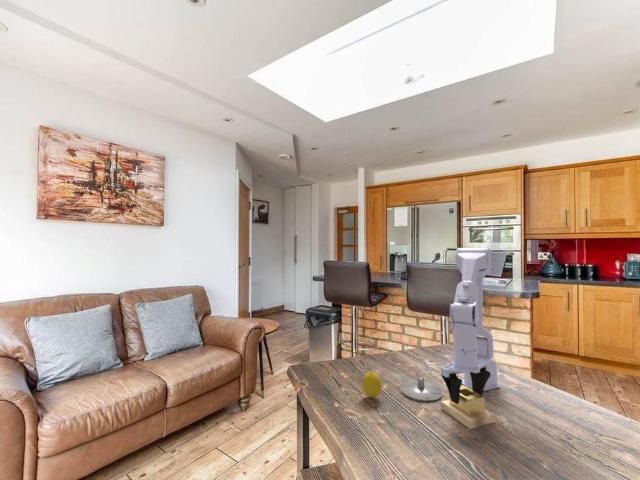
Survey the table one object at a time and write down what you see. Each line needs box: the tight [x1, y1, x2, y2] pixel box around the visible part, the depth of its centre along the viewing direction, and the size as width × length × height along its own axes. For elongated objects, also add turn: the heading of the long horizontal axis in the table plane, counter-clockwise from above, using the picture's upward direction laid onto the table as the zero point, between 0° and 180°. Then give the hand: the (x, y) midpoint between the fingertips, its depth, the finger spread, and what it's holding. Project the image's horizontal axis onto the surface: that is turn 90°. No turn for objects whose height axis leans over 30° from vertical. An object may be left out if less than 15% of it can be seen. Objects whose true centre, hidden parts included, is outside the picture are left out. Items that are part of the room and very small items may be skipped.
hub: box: [400, 376, 443, 403], centre depth 94 cm, size 12×12×4 cm
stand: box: [440, 399, 495, 430], centre depth 80 cm, size 8×10×4 cm
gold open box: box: [448, 384, 486, 416], centre depth 80 cm, size 5×7×4 cm
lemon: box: [362, 370, 382, 399], centre depth 90 cm, size 6×6×8 cm
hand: (466, 399), depth 80 cm, fingers open, 7 cm apart
